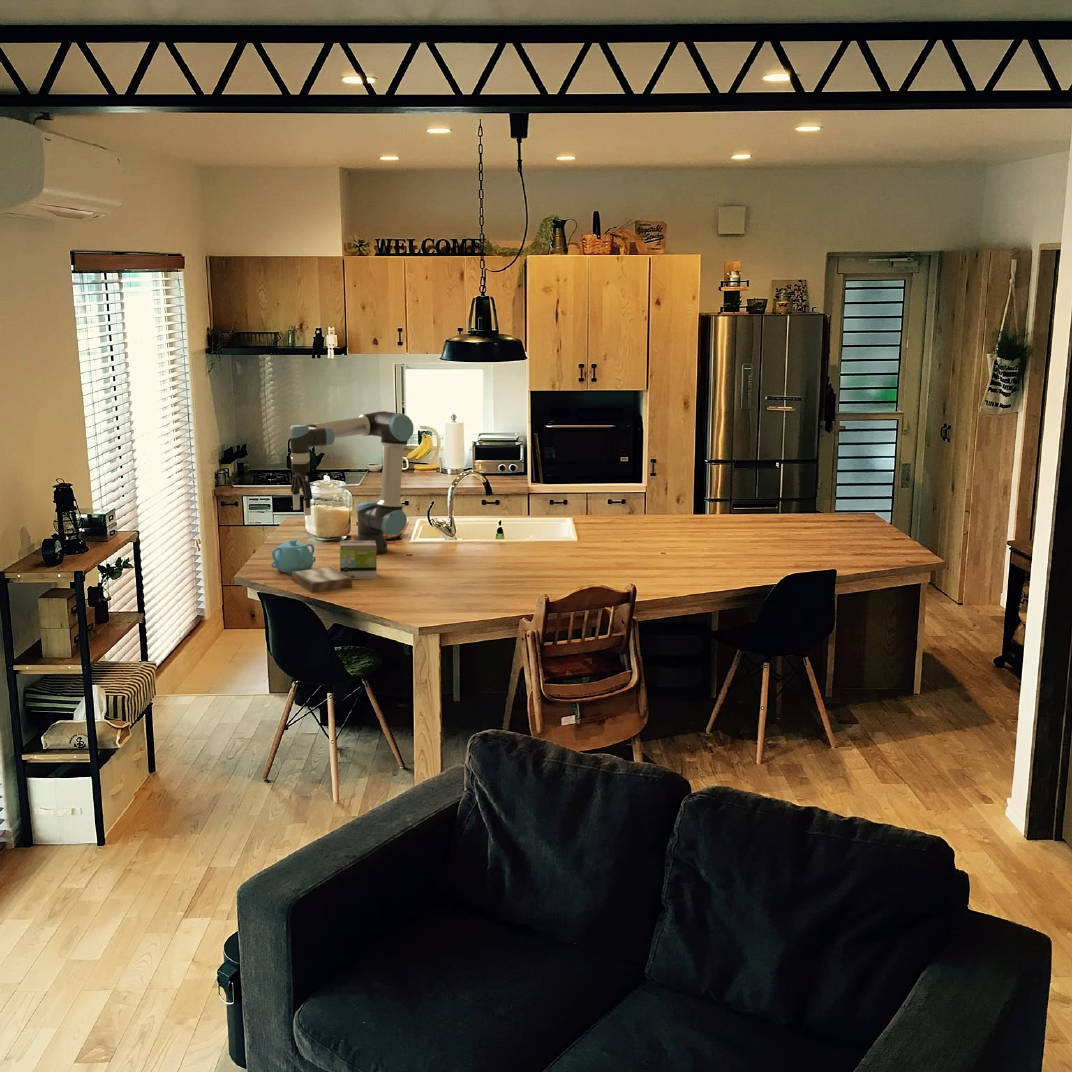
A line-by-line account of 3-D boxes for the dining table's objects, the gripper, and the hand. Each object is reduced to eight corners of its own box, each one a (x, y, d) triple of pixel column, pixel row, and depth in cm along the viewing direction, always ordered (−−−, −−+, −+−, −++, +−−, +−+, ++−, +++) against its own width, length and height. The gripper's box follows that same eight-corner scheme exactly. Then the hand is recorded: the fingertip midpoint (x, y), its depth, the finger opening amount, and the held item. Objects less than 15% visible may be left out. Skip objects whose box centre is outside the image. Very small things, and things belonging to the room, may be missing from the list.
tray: (330, 575, 479) (330, 566, 479) (351, 587, 461) (351, 578, 460) (292, 580, 470) (291, 571, 470) (312, 593, 452) (311, 583, 451)
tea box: (340, 580, 472) (339, 545, 469) (339, 574, 482) (339, 540, 479) (377, 579, 475) (376, 544, 472) (375, 573, 485) (375, 539, 482)
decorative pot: (302, 577, 476) (301, 545, 473) (267, 574, 481) (266, 542, 478) (319, 568, 492) (319, 537, 489) (286, 565, 496) (285, 534, 493)
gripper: (281, 458, 483) (283, 508, 488) (301, 467, 462) (303, 518, 467) (299, 457, 487) (300, 506, 491) (319, 466, 466) (321, 516, 470)
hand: (302, 512), depth 479 cm, fingers open, 13 cm apart
